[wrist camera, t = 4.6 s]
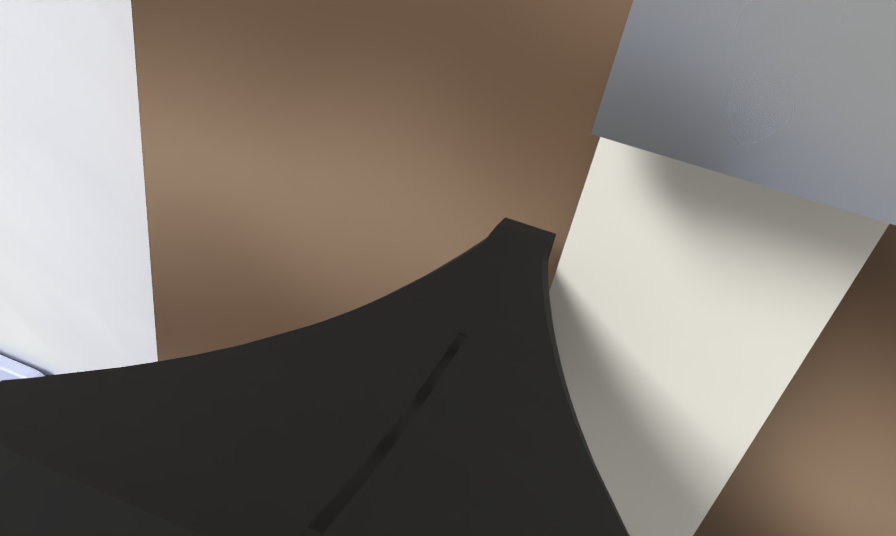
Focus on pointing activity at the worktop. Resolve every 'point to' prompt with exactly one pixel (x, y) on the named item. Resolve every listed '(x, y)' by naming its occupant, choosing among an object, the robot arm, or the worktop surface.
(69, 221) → the worktop surface
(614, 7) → the pivot board
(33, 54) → the worktop surface
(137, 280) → the worktop surface
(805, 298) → the swing link
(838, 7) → the keeper
